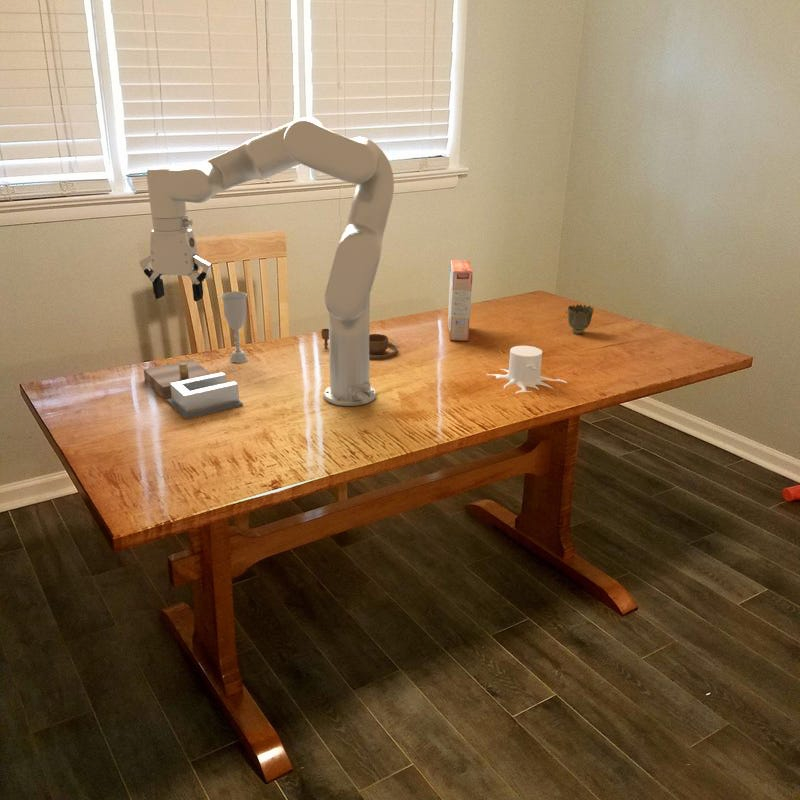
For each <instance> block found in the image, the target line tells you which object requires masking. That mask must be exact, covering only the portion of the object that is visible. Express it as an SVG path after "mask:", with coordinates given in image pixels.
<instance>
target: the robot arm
mask: <svg viewBox="0 0 800 800" xmlns="http://www.w3.org/2000/svg"><path fill="white" fill-rule="evenodd" d="M390 163H391V162H389V159H388V157H387V156H386V154H385V152H384V151H383V150H382V149H381V148H380V146H379V145H378V144H377V143H375V142H374V141H373V140H371V139H369V138H366V137H363V136H355V137H353V138H349V137H347V136H345V135H342V134H340V133H337V132H334V131H332V130H329V129H328V128H325V126H324V124H323V123H322V122H321V121H320V120H319V119H317V118H315V117H312V116H307V117H306V116H305V117H301V118H298V119H296V120H293V121H291V122H288V123H286V124H284V125H282V126H279V127H278V128H275V129H272V130H270V131H267V132H266V133H265V132H264V133H263V134H261V135H257V136H255V137H252V138H250V139H248V140H247V141H245V142H243V143H242V144H240V145H238V146H237V147H235V148H232V149H229V150H228V151H226V152H225V151H224V152H223V153H221V154H219V155H216V156H214V157H212V158H211V157H210V158H209V159H206V160H204V161H201V162H200V163H196V164H195V165H193V166H191V167H187V168H182V169H180V168H179V167H177V166H174V165H159V166H152V167H150V168H149V169H147V171H146V182H147V189H148V190H147V191H148V198H149V206H150V215H151V221H152V229H151V231H150V238H149V239H150V241H149V243H150V244H149V248H150V249H149V250H150V255H149V256H147V257H145V258H144V259H142V260H140V261H139V263H138V264H139V266H140V267H141V269H142V270H143V273H144V275H145V276H147V277H148V279H149V281H150V282H151V283H152V289H153V294H154V297H155V299H156V300H157V299H161V298H162V297H164V296H165V288H164V280H163V278H161V277H162V275H164V276H165V275H166V276H180V277H181V276H182V277H189V279H190V280H191V281H192V282H193V284H192V285H191V288H192V296H193V297H192V298H193V301H194V302H198V301H200V300H203V296H204V286H203V282H204V281H205V280H206V278H207V277H209V274H210V272H211V268H212V263H210V262H208V261H207V260H204V259H203V258H201V257H200V256H199V250H198V246H197V241H196V238H195V234H194V232H193V230H192V228H189V227H190V226H191V227H192V226H193V222H194V221H193V220H192V219H189V218H188V217H189V216H188V215H187V207H186V206H187V205H186V203H192V204H201V203H206V202H208V201H209V200H210V199H212V198H214V196H216V195H218V194H220V193H222V192H225V191H227V190H229V189H231V188H233V187H236V186H238V185H241V184H244V183H247V182H249V181H250V182H251V181H253V180H264V179H267V178H269V177H273V176H275V175H276V174H279V173H282V172H284V171H286V170H288V169H289V170H290V169H291V168H293V167H296V166H298V165H303V166H305V167H308V168H310V169H312V170H315V171H317V172H319V173H322V174H325V175H327V176H330V177H333V178H334V179H337V180H340V181H343V182H345V183H349V184H352V185H353V184H354V185H355V188H354V193H353V197H352V201H351V205H350V210H349V213H348V218H347V220H346V225H345V227H344V229H343V232H342V234H341V236H340V238H339V240H338V242H337V246H336V250H335V253H334V258H333V262H332V266H331V269H330V273H329V276H328V281H327V285H326V288H325V292H324V296H323V298H324V299H323V300H324V301H323V302H324V305H325V308H326V310H327V312H328V329H329V339H328V351H329V352H328V354H329V355H328V358H329V359H328V360H329V386H327V387H326V388H325V390H324V391H323V397H324V399H325V401H327V402H329V403H330V404H333V405H336V406H343V407H345V406H346V407H351V406H352V407H355V406H362V405H366V404H368V403H371V402H373V401H374V399H376V397H377V391H376V390H375V388H374V387H373V386H371V382H370V359H369V355H370V353H369V335H370V334H371V333H370V328H371V327H370V315H371V314H370V313H371V310H370V307H371V306H370V305H371V304H370V303H371V292H372V289H373V286H374V281H375V279H376V275H377V271H378V267H379V264H380V259H381V256H382V248H383V238H384V233H385V230H386V226H387V223H388V219H389V214H390V210H391V206H392V202H393V198H394V190H395V189H394V188H395V181H394V173H393V170H392V169H393V168H392V166H391V164H390ZM150 263H151V267H150V265H149V264H150ZM201 268H202V271H201V273H200V269H201Z"/></svg>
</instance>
